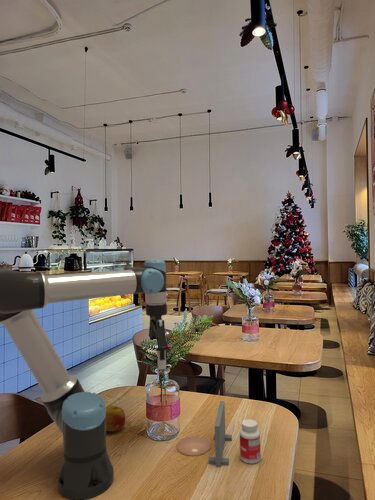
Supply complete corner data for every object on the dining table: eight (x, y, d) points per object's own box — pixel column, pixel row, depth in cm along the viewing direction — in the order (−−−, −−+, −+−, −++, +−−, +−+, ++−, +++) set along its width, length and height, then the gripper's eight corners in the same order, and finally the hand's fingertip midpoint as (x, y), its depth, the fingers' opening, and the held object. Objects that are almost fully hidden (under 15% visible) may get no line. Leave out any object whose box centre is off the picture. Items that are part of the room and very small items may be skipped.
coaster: (208, 457, 117) (208, 455, 117) (173, 454, 119) (173, 452, 119) (212, 439, 128) (212, 437, 128) (180, 437, 130) (180, 435, 130)
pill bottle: (238, 453, 118) (237, 418, 118) (257, 452, 119) (256, 417, 119) (243, 465, 112) (242, 428, 112) (263, 463, 113) (262, 426, 112)
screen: (228, 467, 111) (227, 426, 111) (208, 465, 112) (206, 425, 112) (232, 436, 129) (231, 401, 129) (214, 435, 130) (213, 400, 130)
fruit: (130, 425, 140) (129, 403, 140) (119, 437, 131) (118, 414, 131) (106, 422, 142) (105, 401, 142) (94, 434, 133) (93, 411, 133)
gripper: (175, 308, 123) (176, 373, 123) (159, 298, 147) (160, 352, 147) (152, 309, 121) (154, 375, 121) (140, 299, 145) (141, 354, 145)
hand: (157, 363), depth 134 cm, fingers open, 13 cm apart
